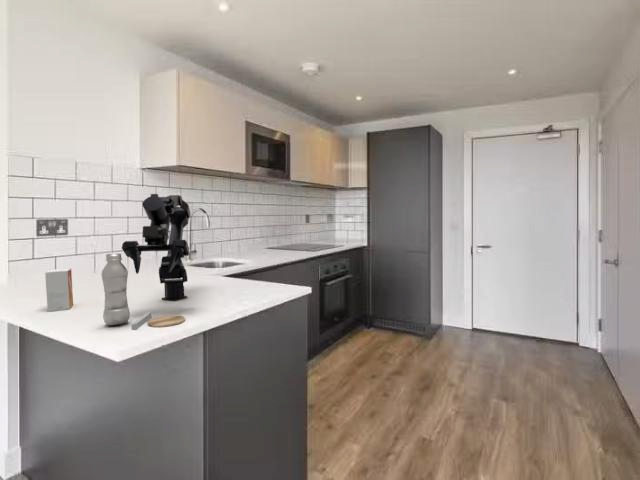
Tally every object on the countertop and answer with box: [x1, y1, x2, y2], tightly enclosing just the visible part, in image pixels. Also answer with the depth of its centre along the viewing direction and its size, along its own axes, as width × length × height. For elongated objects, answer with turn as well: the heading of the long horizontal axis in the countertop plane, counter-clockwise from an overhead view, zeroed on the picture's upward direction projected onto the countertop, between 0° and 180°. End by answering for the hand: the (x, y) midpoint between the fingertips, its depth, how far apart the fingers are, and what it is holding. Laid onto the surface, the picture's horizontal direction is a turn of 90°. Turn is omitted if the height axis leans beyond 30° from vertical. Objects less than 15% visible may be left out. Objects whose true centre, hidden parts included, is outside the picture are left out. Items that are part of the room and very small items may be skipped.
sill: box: [131, 312, 153, 331], centre depth 107 cm, size 12×1×2 cm, turn 6°
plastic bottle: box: [101, 253, 131, 326], centre depth 106 cm, size 6×7×20 cm
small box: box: [44, 268, 74, 312], centre depth 128 cm, size 8×6×13 cm
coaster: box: [146, 314, 186, 328], centre depth 108 cm, size 10×10×1 cm
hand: (153, 272), depth 113 cm, fingers open, 9 cm apart
